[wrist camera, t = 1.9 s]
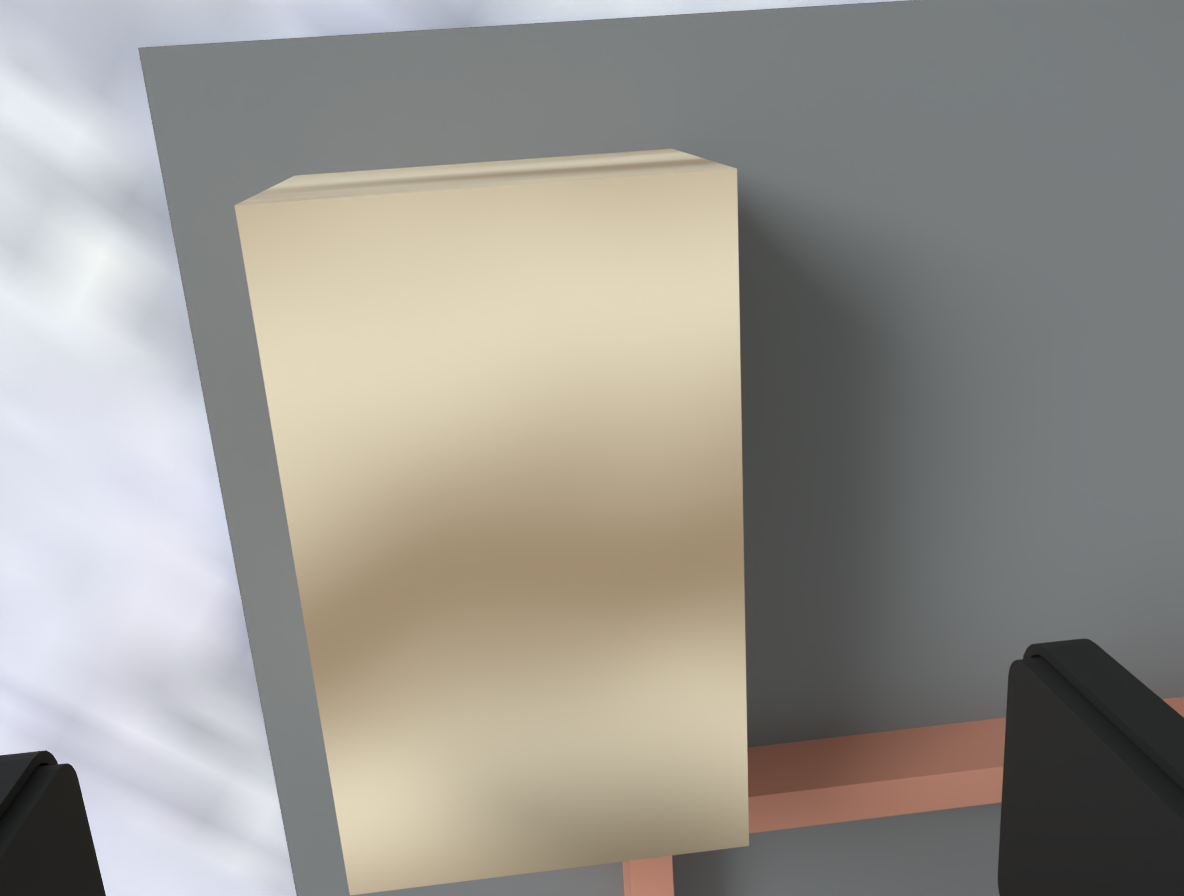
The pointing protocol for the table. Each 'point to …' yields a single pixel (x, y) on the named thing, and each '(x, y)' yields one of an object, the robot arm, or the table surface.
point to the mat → (796, 375)
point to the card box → (514, 504)
